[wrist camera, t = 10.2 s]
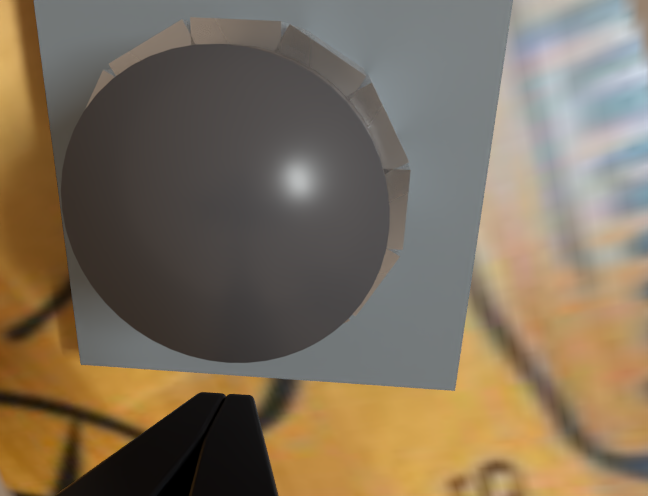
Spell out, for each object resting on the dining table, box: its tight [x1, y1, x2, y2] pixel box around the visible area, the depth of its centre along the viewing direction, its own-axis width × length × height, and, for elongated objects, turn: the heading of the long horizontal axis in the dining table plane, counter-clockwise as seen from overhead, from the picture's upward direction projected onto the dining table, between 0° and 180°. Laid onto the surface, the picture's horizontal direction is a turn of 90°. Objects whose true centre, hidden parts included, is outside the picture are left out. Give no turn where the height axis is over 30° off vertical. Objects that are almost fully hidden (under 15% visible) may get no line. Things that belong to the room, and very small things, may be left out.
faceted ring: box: [85, 17, 411, 324], centre depth 15 cm, size 8×8×4 cm
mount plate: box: [34, 0, 513, 391], centre depth 18 cm, size 16×14×2 cm
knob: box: [61, 44, 390, 363], centre depth 14 cm, size 7×7×5 cm
